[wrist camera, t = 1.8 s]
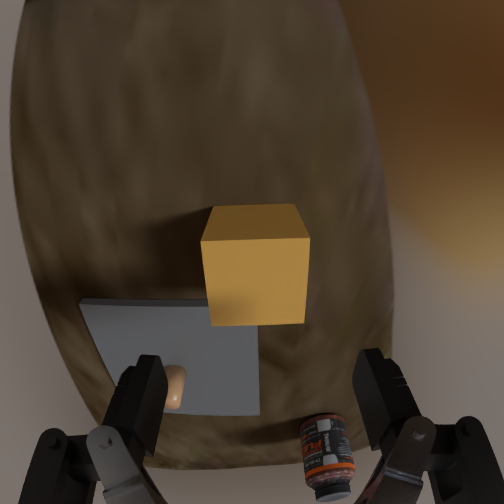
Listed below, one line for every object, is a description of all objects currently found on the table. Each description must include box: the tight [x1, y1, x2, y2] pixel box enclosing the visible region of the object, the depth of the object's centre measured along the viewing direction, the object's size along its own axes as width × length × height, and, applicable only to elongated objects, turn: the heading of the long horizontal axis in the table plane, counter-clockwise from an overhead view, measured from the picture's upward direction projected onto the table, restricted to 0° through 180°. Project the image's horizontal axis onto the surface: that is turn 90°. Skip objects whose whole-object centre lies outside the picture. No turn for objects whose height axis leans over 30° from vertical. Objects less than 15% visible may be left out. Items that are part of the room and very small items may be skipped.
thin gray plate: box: [79, 298, 260, 416], centre depth 25 cm, size 16×16×5 cm
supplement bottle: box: [300, 414, 355, 502], centre depth 28 cm, size 6×6×11 cm
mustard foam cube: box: [201, 204, 310, 326], centre depth 19 cm, size 6×6×6 cm
